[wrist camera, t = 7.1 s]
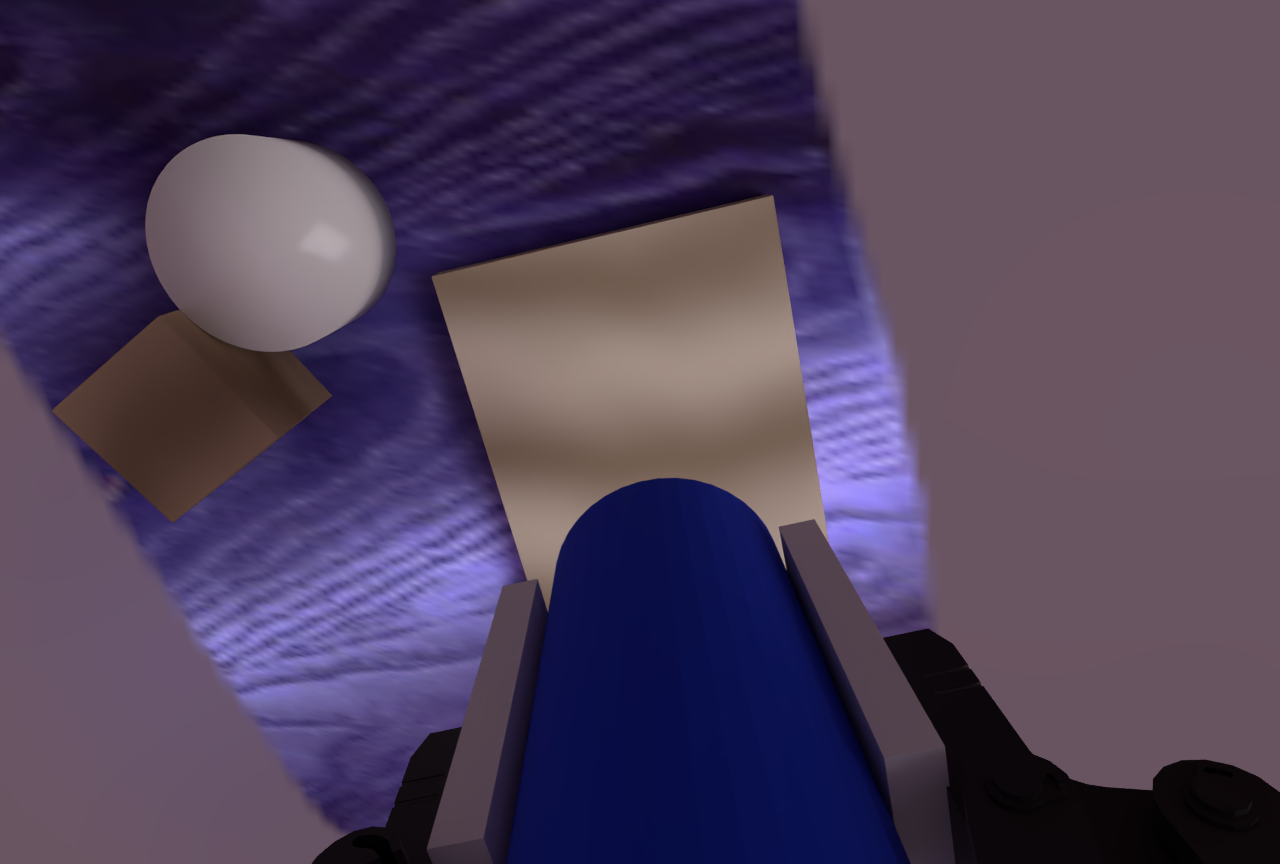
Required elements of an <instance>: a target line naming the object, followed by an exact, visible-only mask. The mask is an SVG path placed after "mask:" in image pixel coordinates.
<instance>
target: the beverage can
mask: <svg viewBox="0 0 1280 864" xmlns="http://www.w3.org/2000/svg"><path fill="white" fill-rule="evenodd" d="M506 864H911V863H910V861H909V858H908V856H907V854H906V851H905V849H904V846H903V844H902V842H901V839H900V837H899V835H898V832H897V830H896V828H895V825H894V823H893V820H892V818H891V816H890V813H889V811H888V809H887V806H886V804H885V802H884V799H883V797H882V795H881V792H880V790H879V787H878V785H877V783H876V780H875V778H874V776H873V773H872V771H871V769H870V766H869V764H868V761H867V759H866V757H865V754H864V752H863V750H862V747H861V745H860V743H859V740H858V738H857V735H856V733H855V731H854V728H853V726H852V724H851V721H850V719H849V717H848V714H847V712H846V710H845V707H844V705H843V702H842V700H841V698H840V695H839V693H838V691H837V688H836V686H835V684H834V681H833V679H832V676H831V674H830V672H829V669H828V667H827V665H826V662H825V660H824V658H823V655H822V653H821V650H820V648H819V646H818V643H817V641H816V639H815V636H814V634H813V632H812V629H811V627H810V625H809V622H808V620H807V617H806V615H805V613H804V610H803V608H802V606H801V603H800V601H799V599H798V596H797V594H796V591H795V589H794V587H793V584H792V582H791V580H790V577H789V575H788V573H787V570H786V568H785V565H784V563H783V561H782V558H781V556H780V554H779V551H778V549H777V547H776V544H775V542H774V540H773V538H772V536H771V534H770V532H769V530H768V529H767V527H766V525H765V524H764V523H763V521H762V520H761V519H760V518H759V516H758V515H757V514H756V513H755V512H754V511H753V510H752V509H751V508H750V507H749V506H748V505H747V504H746V503H744V502H743V501H742V500H740V499H739V498H737V497H736V496H734V495H733V494H731V493H729V492H728V491H725V490H723V489H721V488H719V487H716V486H714V485H712V484H708V483H704V482H701V481H697V480H691V479H683V478H656V479H651V480H645V481H640V482H636V483H633V484H630V485H627V486H624V487H621V488H620V489H618V490H616V491H614V492H612V493H610V494H608V495H606V496H604V497H603V498H601V499H600V500H599V501H597V502H596V503H595V504H593V505H592V506H590V507H589V508H588V509H587V510H586V511H585V512H584V513H583V514H582V515H581V516H580V517H579V518H578V520H577V521H576V522H575V524H574V525H573V527H572V528H571V529H570V531H569V532H568V534H567V536H566V538H565V540H564V542H563V544H562V546H561V549H560V552H559V556H558V559H557V562H556V568H555V574H554V580H553V586H552V592H551V598H550V604H549V610H548V616H547V622H546V628H545V634H544V640H543V646H542V652H541V658H540V663H539V669H538V675H537V681H536V687H535V693H534V699H533V705H532V711H531V717H530V723H529V729H528V735H527V741H526V747H525V753H524V759H523V765H522V771H521V777H520V783H519V789H518V794H517V800H516V806H515V812H514V818H513V824H512V830H511V836H510V842H509V848H508V854H507V860H506Z"/></svg>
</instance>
